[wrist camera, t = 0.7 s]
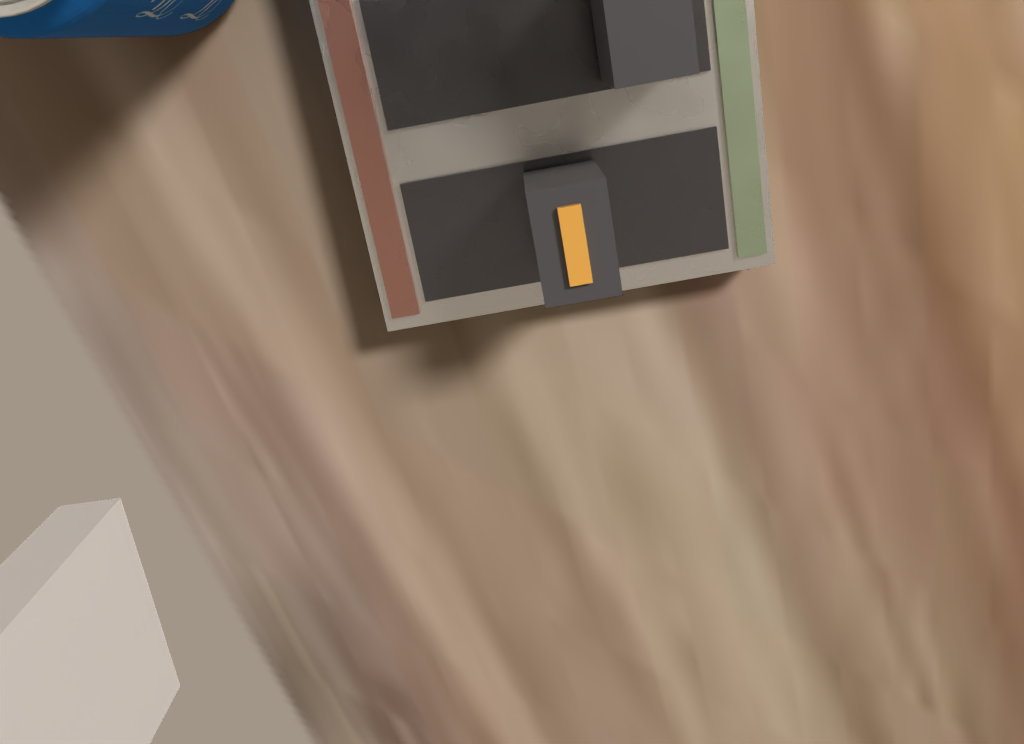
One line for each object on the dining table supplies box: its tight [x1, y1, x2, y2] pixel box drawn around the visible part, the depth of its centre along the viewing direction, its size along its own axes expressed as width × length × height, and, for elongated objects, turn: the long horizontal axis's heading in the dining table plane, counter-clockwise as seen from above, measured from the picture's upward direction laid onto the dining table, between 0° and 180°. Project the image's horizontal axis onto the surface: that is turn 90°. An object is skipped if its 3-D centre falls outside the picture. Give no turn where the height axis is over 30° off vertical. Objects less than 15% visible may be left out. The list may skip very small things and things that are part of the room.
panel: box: [309, 0, 775, 332], centre depth 31 cm, size 18×14×2 cm
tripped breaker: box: [523, 160, 623, 309], centre depth 30 cm, size 4×2×4 cm, turn 10°
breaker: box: [590, 0, 700, 89], centre depth 27 cm, size 4×2×4 cm, turn 10°
